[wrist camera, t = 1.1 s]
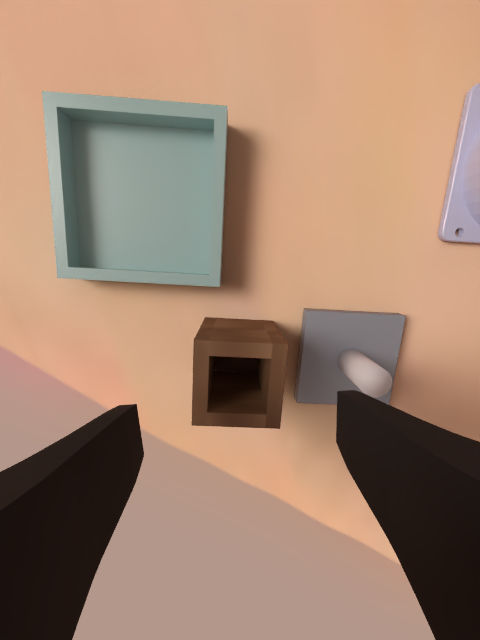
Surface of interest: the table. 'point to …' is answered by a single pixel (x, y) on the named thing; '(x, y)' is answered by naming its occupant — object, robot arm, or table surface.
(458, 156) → the robot arm
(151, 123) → the tray
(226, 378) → the walnut ring block
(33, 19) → the table surface
